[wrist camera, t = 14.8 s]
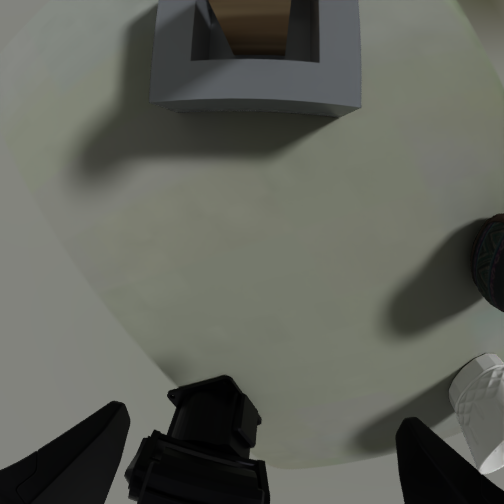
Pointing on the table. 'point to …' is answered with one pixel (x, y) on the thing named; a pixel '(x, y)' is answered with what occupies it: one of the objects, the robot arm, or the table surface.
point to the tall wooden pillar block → (254, 25)
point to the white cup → (481, 410)
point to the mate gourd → (490, 261)
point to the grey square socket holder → (258, 62)
